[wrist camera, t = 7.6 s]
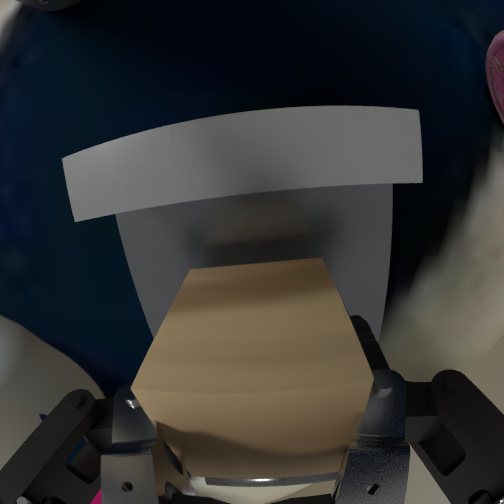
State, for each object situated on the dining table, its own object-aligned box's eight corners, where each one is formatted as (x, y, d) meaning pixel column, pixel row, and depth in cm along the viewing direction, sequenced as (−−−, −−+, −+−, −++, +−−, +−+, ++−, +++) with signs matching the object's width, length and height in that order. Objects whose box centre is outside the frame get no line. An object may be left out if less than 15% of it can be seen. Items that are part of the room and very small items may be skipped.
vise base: (119, 152, 12) (41, 167, 6) (375, 121, 11) (446, 113, 5) (202, 422, 19) (191, 480, 14) (353, 412, 18) (367, 470, 13)
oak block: (190, 269, 11) (130, 388, 5) (321, 257, 10) (373, 378, 5) (214, 363, 12) (192, 475, 7) (320, 355, 12) (343, 470, 6)
